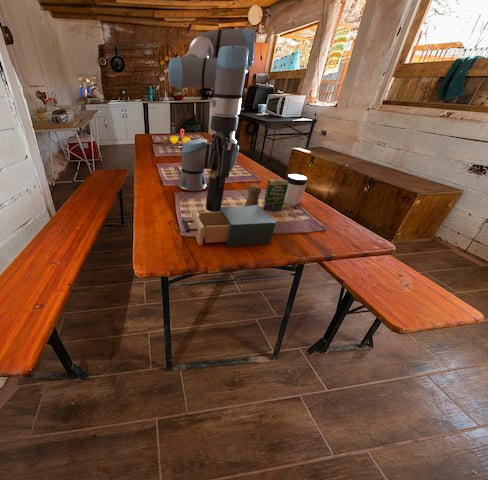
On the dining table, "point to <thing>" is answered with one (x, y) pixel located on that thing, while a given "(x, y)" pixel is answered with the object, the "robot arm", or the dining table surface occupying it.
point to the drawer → (208, 227)
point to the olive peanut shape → (253, 195)
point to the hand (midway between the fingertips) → (215, 192)
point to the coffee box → (275, 194)
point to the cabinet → (248, 225)
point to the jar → (295, 189)
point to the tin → (213, 202)
